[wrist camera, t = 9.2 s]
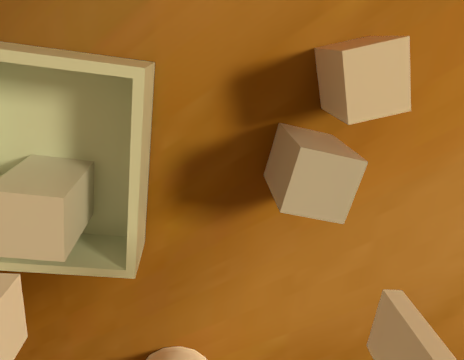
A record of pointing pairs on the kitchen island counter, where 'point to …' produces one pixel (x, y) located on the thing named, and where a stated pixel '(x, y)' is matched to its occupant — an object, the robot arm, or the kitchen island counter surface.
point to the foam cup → (176, 354)
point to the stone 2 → (365, 77)
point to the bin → (83, 144)
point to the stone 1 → (45, 207)
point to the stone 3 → (313, 174)
